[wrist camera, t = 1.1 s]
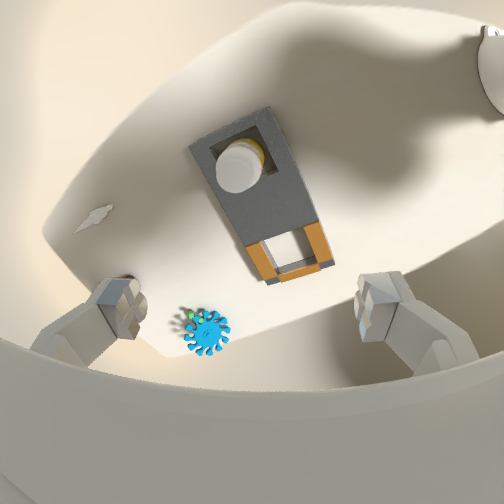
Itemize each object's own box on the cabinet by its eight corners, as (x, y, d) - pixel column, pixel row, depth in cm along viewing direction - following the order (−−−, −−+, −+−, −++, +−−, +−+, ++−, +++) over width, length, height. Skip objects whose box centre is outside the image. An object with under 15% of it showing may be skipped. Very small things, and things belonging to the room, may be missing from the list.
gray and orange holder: (269, 106, 32) (268, 107, 30) (333, 257, 44) (335, 265, 42) (192, 143, 36) (187, 146, 34) (268, 278, 48) (267, 286, 46)
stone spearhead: (111, 197, 42) (105, 201, 40) (118, 209, 43) (113, 214, 42) (71, 226, 47) (66, 231, 46) (78, 236, 49) (73, 241, 47)
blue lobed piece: (239, 337, 56) (203, 366, 52) (228, 328, 61) (194, 354, 57) (213, 298, 52) (172, 328, 48) (202, 291, 57) (165, 319, 53)
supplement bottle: (248, 180, 38) (238, 208, 30) (219, 157, 37) (200, 179, 29) (273, 153, 36) (269, 174, 28) (242, 129, 34) (229, 142, 26)
